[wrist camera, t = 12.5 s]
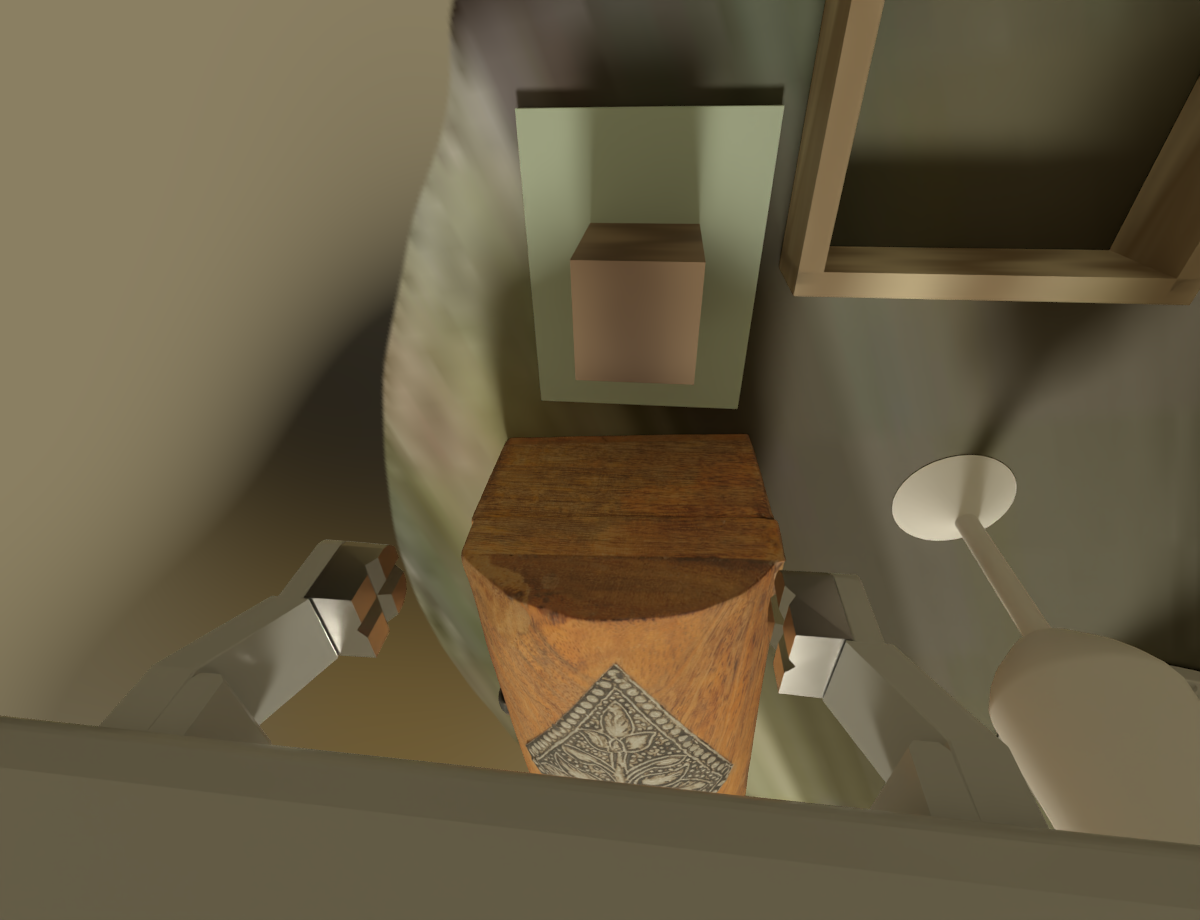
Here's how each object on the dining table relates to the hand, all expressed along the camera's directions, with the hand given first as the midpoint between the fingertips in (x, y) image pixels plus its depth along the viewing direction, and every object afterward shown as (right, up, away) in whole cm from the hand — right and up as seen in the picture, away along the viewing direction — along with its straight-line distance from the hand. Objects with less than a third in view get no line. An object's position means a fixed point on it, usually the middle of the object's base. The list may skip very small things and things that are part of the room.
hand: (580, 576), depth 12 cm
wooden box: (+3, -8, +30) cm, 31 cm away
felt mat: (+3, +12, +15) cm, 19 cm away
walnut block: (+3, +11, +15) cm, 19 cm away
